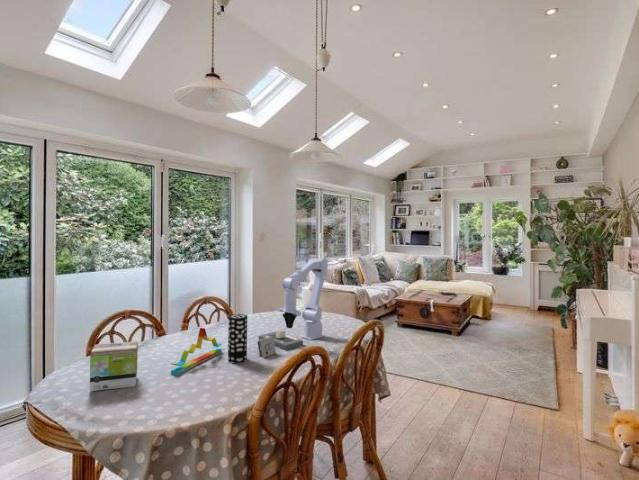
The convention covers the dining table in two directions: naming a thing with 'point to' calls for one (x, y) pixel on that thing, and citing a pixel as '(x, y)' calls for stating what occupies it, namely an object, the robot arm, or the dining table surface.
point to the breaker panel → (283, 341)
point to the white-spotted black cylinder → (237, 338)
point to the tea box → (113, 365)
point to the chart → (198, 360)
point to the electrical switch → (266, 347)
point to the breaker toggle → (280, 333)
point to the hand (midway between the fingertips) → (289, 327)
